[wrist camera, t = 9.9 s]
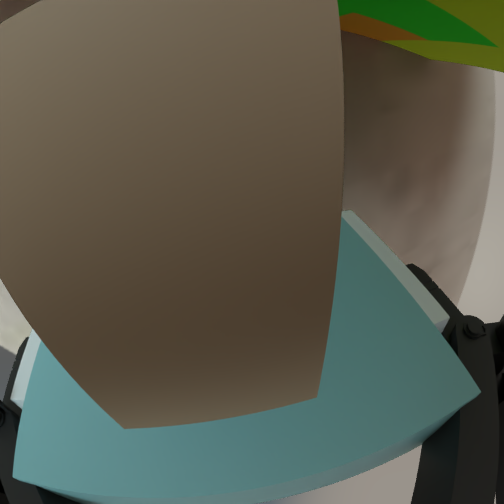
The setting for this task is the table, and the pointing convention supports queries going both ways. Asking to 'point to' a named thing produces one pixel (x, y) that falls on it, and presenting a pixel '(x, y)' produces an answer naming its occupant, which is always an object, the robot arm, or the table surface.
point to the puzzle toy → (433, 28)
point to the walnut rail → (175, 198)
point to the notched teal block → (261, 413)
